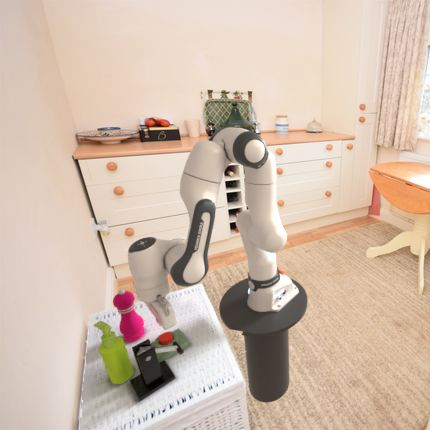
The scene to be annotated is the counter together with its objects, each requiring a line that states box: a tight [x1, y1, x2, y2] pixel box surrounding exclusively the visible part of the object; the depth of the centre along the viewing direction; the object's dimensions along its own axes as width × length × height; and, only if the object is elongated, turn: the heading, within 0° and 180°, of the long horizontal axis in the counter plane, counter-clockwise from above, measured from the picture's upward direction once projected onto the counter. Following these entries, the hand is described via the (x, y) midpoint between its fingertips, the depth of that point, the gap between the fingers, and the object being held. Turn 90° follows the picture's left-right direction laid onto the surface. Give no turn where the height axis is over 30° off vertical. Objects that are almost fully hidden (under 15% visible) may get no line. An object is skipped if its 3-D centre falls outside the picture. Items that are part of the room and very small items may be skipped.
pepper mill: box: [112, 288, 146, 343], centre depth 99 cm, size 7×7×20 cm
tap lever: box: [137, 341, 185, 355], centre depth 87 cm, size 12×5×2 cm, turn 138°
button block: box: [150, 328, 191, 363], centre depth 98 cm, size 11×8×4 cm
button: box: [158, 331, 173, 345], centre depth 97 cm, size 4×4×2 cm
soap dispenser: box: [93, 320, 134, 385], centre depth 85 cm, size 6×7×20 cm
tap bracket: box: [129, 338, 176, 402], centre depth 85 cm, size 10×8×14 cm
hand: (161, 322), depth 94 cm, fingers closed
